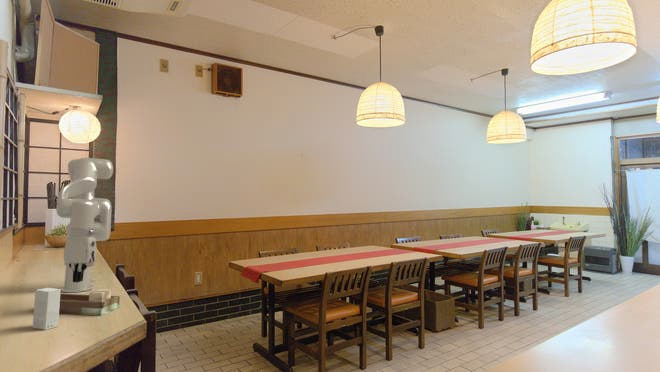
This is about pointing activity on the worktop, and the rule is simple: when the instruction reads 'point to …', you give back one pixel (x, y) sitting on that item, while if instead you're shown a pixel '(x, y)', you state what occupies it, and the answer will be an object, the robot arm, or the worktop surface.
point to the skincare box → (46, 308)
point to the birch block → (99, 295)
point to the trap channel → (86, 305)
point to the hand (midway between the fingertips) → (77, 281)
